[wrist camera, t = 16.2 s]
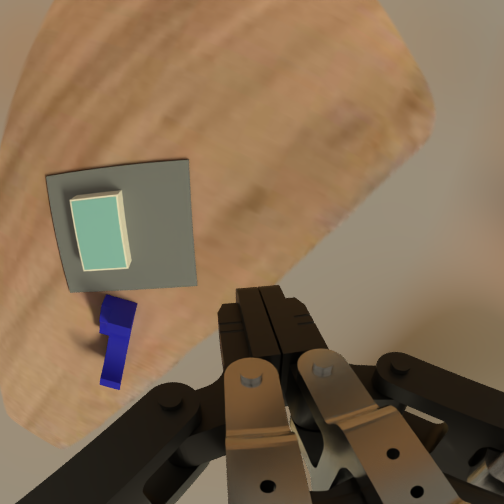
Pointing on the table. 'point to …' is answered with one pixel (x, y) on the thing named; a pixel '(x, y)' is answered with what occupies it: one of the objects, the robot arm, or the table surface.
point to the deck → (101, 230)
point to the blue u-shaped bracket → (115, 337)
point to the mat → (132, 225)
